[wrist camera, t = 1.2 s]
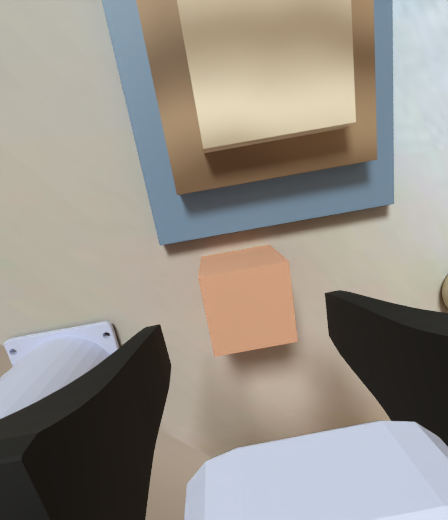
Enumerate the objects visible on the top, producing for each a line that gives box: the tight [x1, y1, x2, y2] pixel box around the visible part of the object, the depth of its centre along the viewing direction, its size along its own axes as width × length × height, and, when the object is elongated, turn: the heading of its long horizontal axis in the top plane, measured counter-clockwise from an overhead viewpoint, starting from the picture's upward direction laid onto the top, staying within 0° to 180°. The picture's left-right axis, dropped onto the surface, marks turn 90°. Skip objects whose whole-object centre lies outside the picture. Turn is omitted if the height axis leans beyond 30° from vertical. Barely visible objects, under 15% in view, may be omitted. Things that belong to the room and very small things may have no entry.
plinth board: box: [102, 0, 394, 245], centre depth 15 cm, size 18×16×4 cm
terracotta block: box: [198, 245, 298, 357], centre depth 17 cm, size 5×5×5 cm
